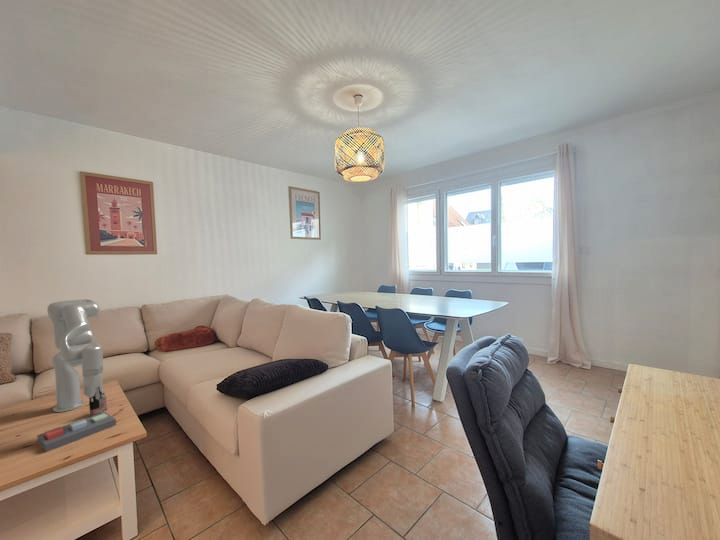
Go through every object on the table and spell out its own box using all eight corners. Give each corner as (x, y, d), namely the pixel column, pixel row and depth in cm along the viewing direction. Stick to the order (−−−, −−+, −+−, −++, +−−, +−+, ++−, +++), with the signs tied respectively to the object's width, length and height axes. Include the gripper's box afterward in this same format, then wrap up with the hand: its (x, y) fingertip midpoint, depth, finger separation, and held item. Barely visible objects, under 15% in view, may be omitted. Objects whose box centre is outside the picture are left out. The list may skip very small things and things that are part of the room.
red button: (44, 439, 131) (44, 432, 131) (60, 434, 135) (60, 426, 135) (48, 443, 128) (47, 435, 128) (63, 437, 132) (63, 429, 132)
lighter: (92, 417, 153) (92, 398, 152) (87, 416, 153) (87, 397, 153) (109, 409, 161) (108, 391, 160) (104, 409, 161) (103, 391, 161)
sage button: (91, 424, 144) (91, 417, 144) (104, 419, 148) (104, 413, 148) (95, 427, 142) (95, 420, 142) (108, 422, 146) (108, 415, 146)
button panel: (37, 441, 132) (37, 435, 132) (105, 417, 152) (104, 411, 152) (46, 452, 124) (45, 445, 124) (115, 425, 145) (115, 419, 145)
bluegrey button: (69, 430, 137) (69, 423, 137) (83, 425, 142) (83, 418, 142) (72, 433, 135) (72, 426, 135) (87, 428, 139) (87, 421, 139)
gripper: (77, 371, 143) (78, 408, 144) (88, 376, 136) (90, 416, 136) (96, 366, 150) (98, 401, 150) (109, 371, 142) (110, 408, 143)
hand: (94, 408), depth 143 cm, fingers closed
